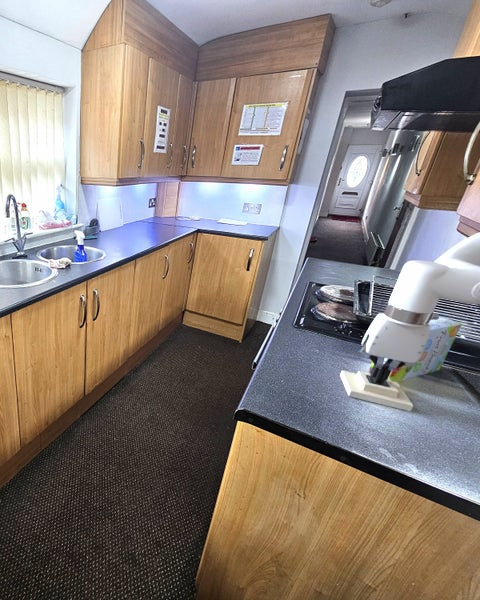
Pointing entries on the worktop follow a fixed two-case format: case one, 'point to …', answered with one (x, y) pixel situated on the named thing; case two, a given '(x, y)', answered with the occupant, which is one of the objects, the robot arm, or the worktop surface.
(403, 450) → the worktop surface
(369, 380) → the dark grey square block
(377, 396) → the cream stepped base
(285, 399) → the worktop surface
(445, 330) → the snack box
